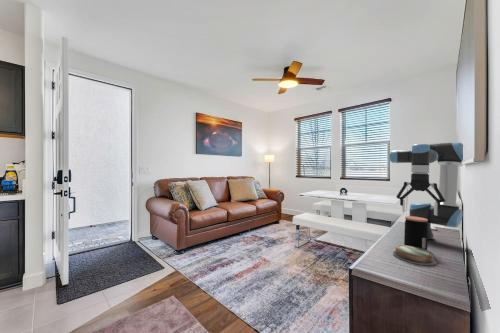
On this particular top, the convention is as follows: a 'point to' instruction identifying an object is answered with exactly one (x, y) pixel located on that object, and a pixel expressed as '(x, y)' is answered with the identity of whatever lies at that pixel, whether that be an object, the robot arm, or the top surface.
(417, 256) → the index wheel
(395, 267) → the top surface
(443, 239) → the top surface
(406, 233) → the coffee jar
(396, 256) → the wheel base
